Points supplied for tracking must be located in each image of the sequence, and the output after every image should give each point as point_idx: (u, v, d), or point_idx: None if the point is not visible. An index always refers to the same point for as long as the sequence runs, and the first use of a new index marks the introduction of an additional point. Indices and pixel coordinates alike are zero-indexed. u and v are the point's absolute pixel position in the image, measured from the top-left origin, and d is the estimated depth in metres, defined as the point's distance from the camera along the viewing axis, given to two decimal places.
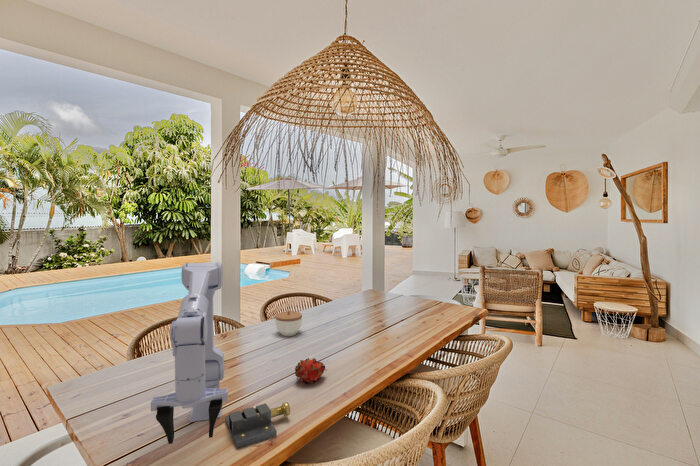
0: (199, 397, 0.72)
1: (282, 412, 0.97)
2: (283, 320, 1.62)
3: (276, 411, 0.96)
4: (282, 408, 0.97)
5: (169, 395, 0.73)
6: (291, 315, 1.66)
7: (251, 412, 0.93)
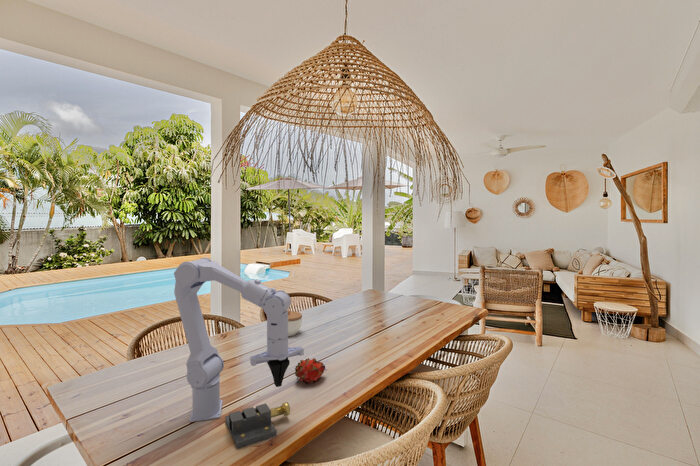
0: (287, 352, 0.96)
1: (282, 412, 0.97)
2: None
3: (276, 411, 0.96)
4: (282, 408, 0.97)
5: (260, 354, 0.96)
6: (291, 315, 1.66)
7: (251, 412, 0.93)
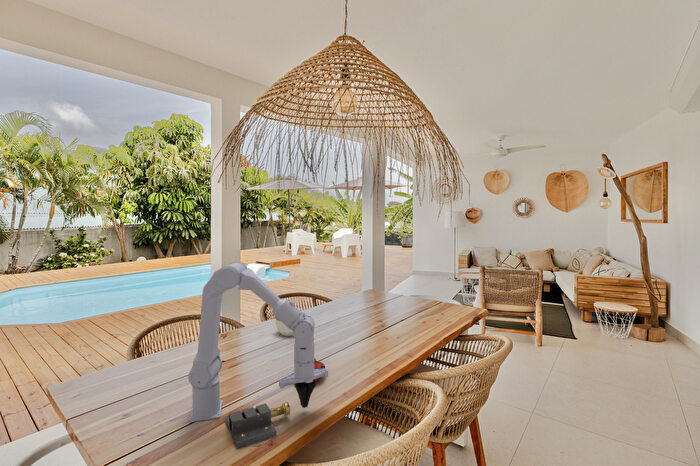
0: (313, 375, 1.00)
1: (282, 412, 0.97)
2: None
3: (276, 411, 0.96)
4: (282, 408, 0.97)
5: (288, 376, 1.00)
6: None
7: (251, 412, 0.93)
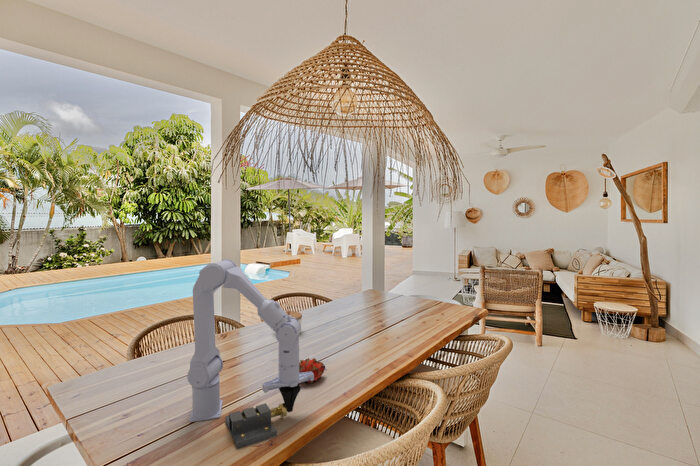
0: (298, 378, 0.98)
1: (279, 413, 0.97)
2: None
3: (272, 412, 0.96)
4: (279, 409, 0.97)
5: (272, 380, 0.98)
6: (291, 315, 1.66)
7: (251, 412, 0.93)
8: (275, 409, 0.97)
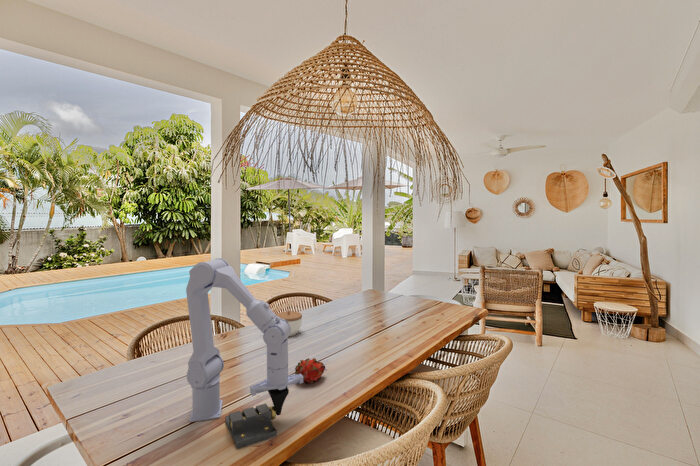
0: (286, 381, 0.96)
1: None
2: None
3: None
4: None
5: (260, 383, 0.96)
6: (291, 315, 1.66)
7: (251, 412, 0.93)
8: None
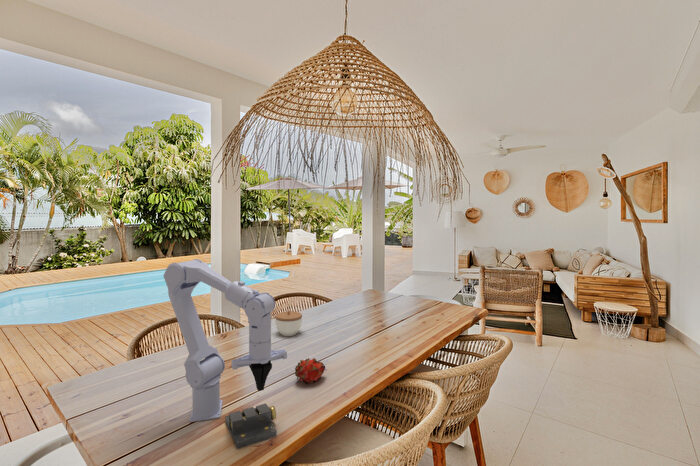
0: (269, 356, 0.94)
1: None
2: (283, 320, 1.62)
3: None
4: None
5: (242, 357, 0.94)
6: (291, 315, 1.66)
7: (251, 412, 0.93)
8: None
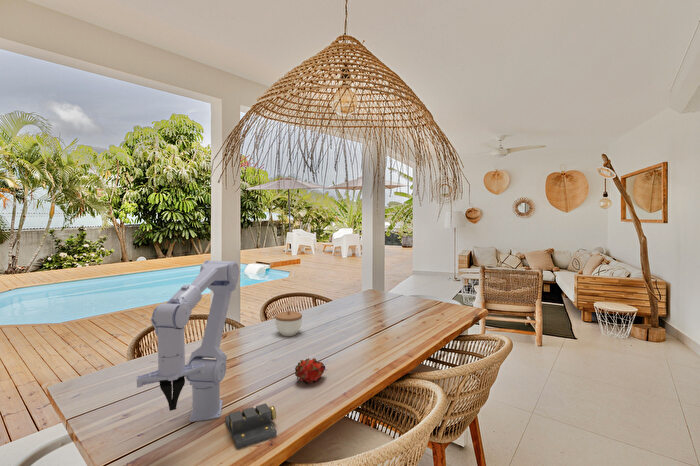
0: (181, 371, 0.84)
1: None
2: (283, 320, 1.62)
3: None
4: None
5: (151, 373, 0.84)
6: (291, 315, 1.67)
7: (251, 412, 0.93)
8: None
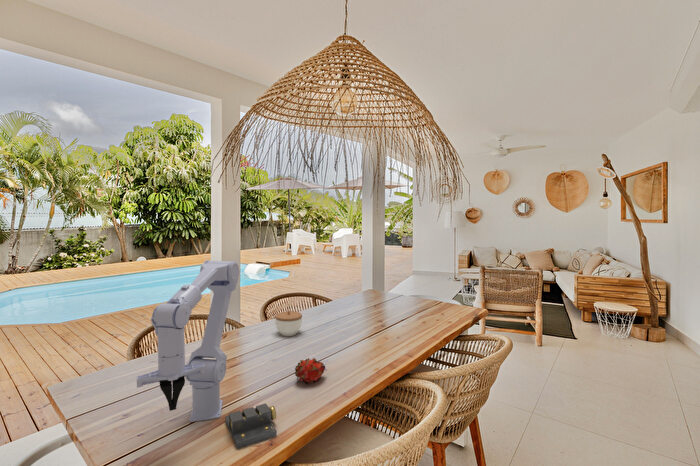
0: (181, 371, 0.84)
1: None
2: (283, 320, 1.62)
3: None
4: None
5: (151, 373, 0.84)
6: (291, 315, 1.66)
7: (251, 412, 0.93)
8: None
